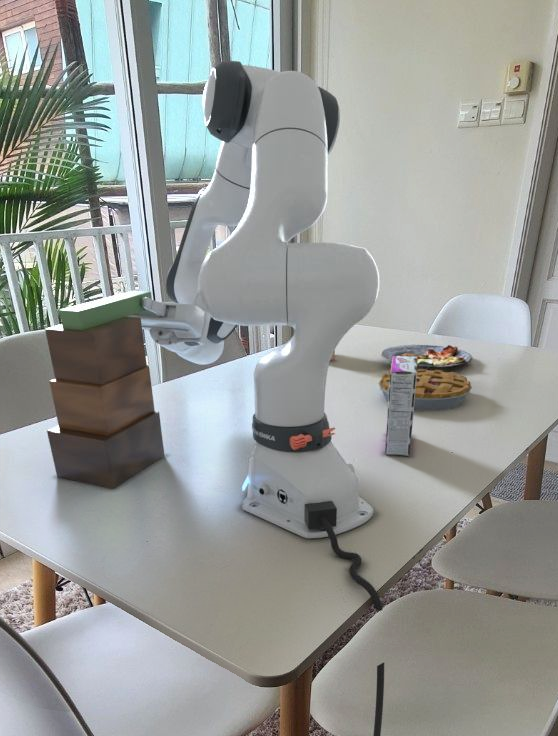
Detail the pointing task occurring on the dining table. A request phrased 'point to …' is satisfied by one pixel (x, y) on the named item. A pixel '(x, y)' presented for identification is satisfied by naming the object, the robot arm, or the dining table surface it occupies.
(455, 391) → the pie
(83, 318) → the green bar
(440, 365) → the food plate
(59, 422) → the block stack
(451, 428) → the dining table surface
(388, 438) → the candy bar box
